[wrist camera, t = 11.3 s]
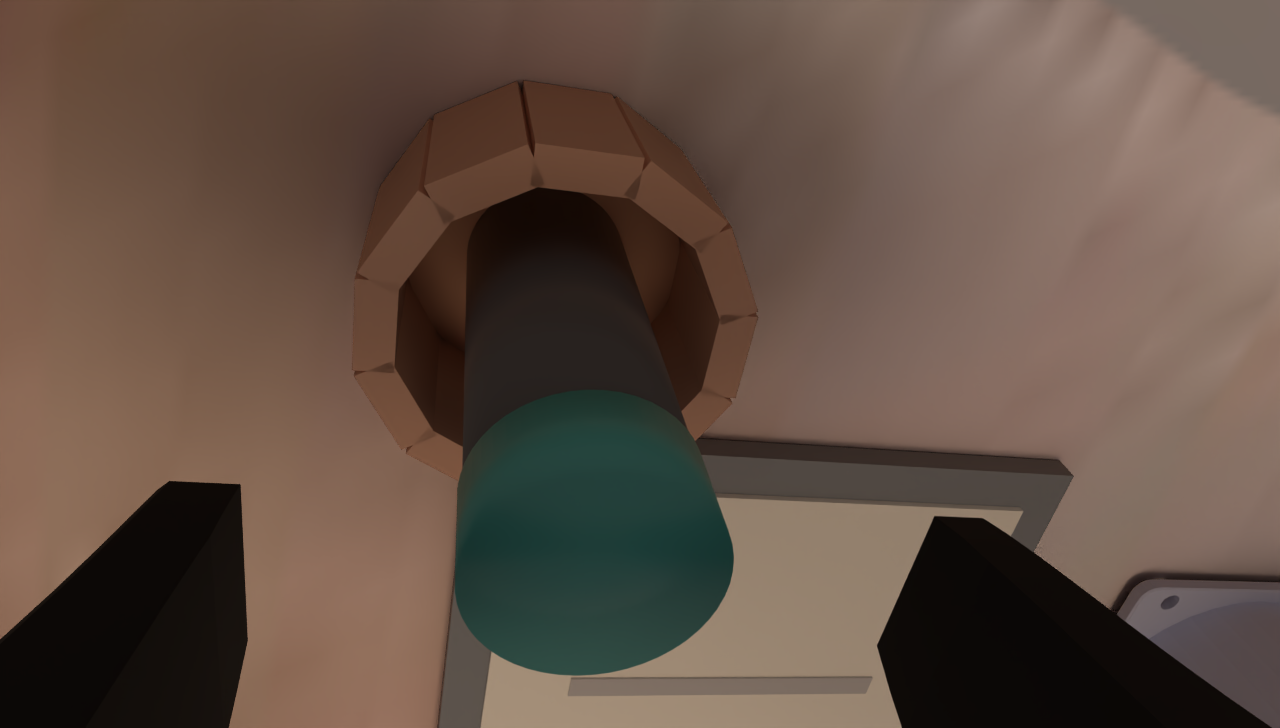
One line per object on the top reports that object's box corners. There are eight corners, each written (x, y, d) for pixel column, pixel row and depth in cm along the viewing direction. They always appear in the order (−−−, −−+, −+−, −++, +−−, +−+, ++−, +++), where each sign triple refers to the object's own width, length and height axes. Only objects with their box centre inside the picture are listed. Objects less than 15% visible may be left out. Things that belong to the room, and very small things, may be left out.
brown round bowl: (735, 112, 16) (797, 178, 13) (668, 396, 18) (705, 505, 15) (383, 58, 14) (359, 118, 11) (370, 375, 17) (348, 490, 14)
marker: (638, 194, 15) (763, 476, 9) (610, 336, 17) (699, 675, 10) (472, 172, 15) (467, 461, 8) (457, 322, 16) (444, 676, 9)
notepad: (1059, 460, 21) (1078, 481, 21) (908, 753, 27) (920, 777, 26) (470, 424, 18) (470, 448, 17) (433, 765, 23) (432, 793, 23)
